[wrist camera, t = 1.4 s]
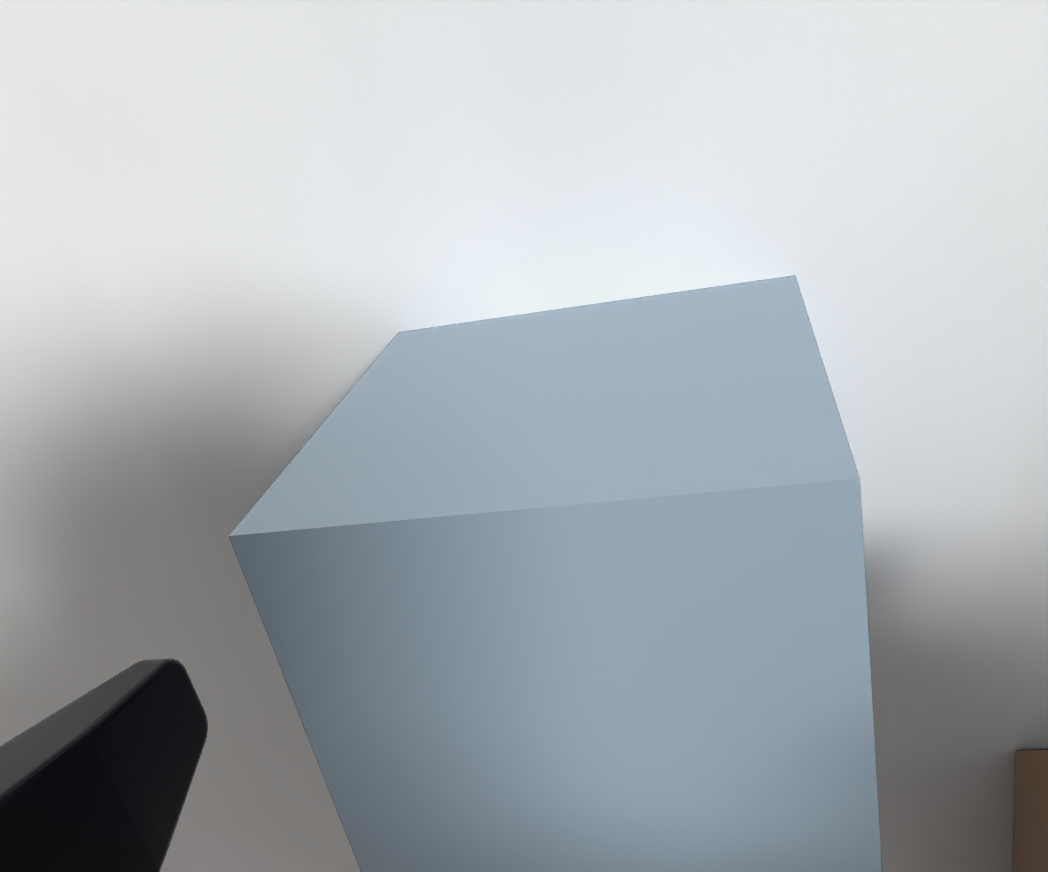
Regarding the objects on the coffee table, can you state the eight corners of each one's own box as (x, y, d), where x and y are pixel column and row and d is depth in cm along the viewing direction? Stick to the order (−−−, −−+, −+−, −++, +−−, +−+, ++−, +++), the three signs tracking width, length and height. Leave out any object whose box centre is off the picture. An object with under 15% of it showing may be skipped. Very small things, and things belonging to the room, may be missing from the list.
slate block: (795, 272, 11) (861, 480, 6) (822, 614, 13) (887, 946, 8) (400, 330, 12) (228, 535, 8) (483, 634, 14) (386, 934, 10)
